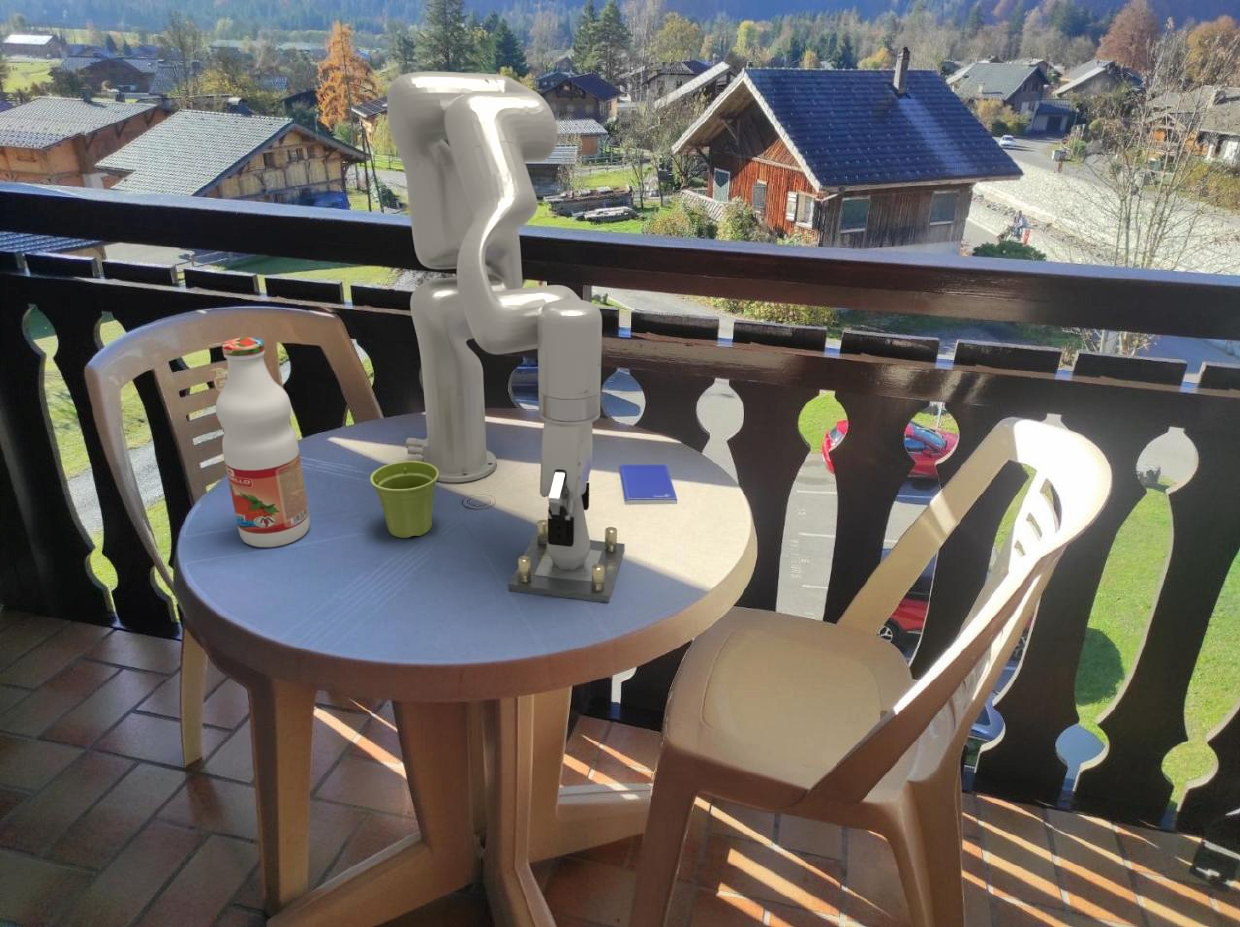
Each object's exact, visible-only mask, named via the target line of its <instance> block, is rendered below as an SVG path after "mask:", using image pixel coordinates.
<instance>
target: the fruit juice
mask: <svg viewBox="0 0 1240 927" xmlns="http://www.w3.org/2000/svg"><path fill="white" fill-rule="evenodd" d="M221 350H222V351H221V352H222V353H223V357H224V358H225V359H226V361H227V362H226V363H227V374H226V380H225V384H224V386H223V388H222V390H221V391H220V393H219V395H218V396H217V399H216V403H215V414H216V417H217V420H218V422H219V424H220V426H221V427H222V429H223V436H222V442H221V444H222V453H223V460H224V464H225V469H226V470H225V471H226V474H227V480H228V483H229V489H230V494H231V500H232V505H233V509H234V514H235V518H236V524H237V528H238V529H237V530H238V534H239V536H240V538H241V540H242V541H243V542H244V543H245V544H247V545H249V546H251V547H256V548H257V547H258V548H274V547H281V546H285V545H288V544H292V543H293V542H296V541H297V540H299V539H301V538H302V537H304V536H305V535H306V534H307V532H309V529H310V525H311V524H310V523H311V522H310V520H311V519H310V513H309V507H308V506H309V505H308V500H307V492H306V487H305V480H304V474H303V468H302V461H301V455H300V447H299V443H298V439H297V438H298V437H297V435H296V432H295V430H294V428H293V426H292V425H291V422H290V421H291V420H290V419H291V413H292V405H291V400H290V397H289V394H288V393H287V391H286V390H285V389H284V388H283V386H281V385H279V383H277V382H276V381H275V380H274V379H273V377H272V376H271V374H270V372H269V370H268V368H267V365H266V363H265V360H264V355H265V353H266V351H265V350H266V349H265V344H264V341H263V340H262V339H261V338H258V337H257V338H256V337H237V338H232V339H229V340H226V341H223V343H222V345H221Z"/></svg>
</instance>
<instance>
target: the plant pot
mask: <svg viewBox="0 0 1240 927" xmlns="http://www.w3.org/2000/svg"><path fill="white" fill-rule="evenodd" d="M438 476H439V471H438V469H437V468H436V467H434V466H433V465H431V464H428V463H424V462H420V461H418V460H417V461H416V460H415V461H414V460H408V461H407V460H406V461H404V460H403V461H398V462H392V463H389V464H386V465H383V466H381V467H379V468H377V469H376V470H374V471H373V472H372V473H371V475H370V477H369V478H370V484H371V485H372V486H373V487H374V488H375V489H374V490H375V492H376V493H377V494H378V497H379V501H380V504H381V508H382V511H383V514H384V518H385V522H386V527H387V530H388V531H389V533H390V535H392V536H394V537H395V538H401V539H407V538H411V537H414V536H418V537H420V536H422V535H425V534H426V533H428V532H429V531H430V530H431V529H432V526H433V510H434V508H433V506H434V494H435V492H434V491H435V487H436V484H437V481H436V480H437V479H438Z"/></svg>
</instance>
